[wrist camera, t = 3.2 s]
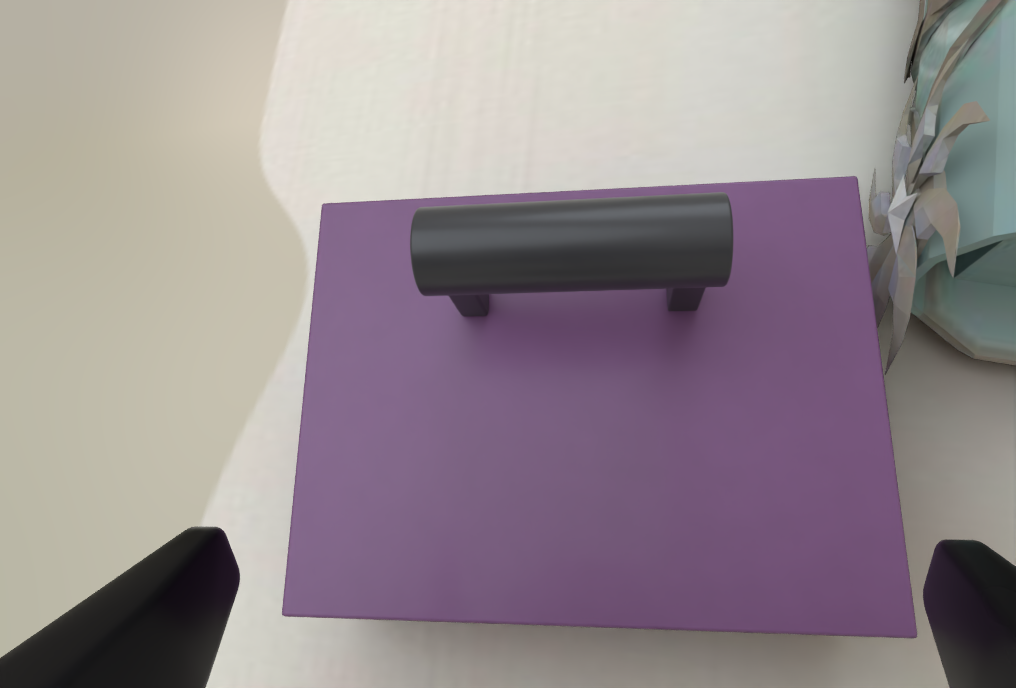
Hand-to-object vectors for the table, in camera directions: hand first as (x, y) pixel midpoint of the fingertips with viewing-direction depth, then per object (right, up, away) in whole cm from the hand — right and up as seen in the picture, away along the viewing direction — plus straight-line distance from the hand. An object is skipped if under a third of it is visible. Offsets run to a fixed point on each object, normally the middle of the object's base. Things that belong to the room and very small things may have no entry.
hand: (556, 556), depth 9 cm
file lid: (+1, +1, +8) cm, 8 cm away
